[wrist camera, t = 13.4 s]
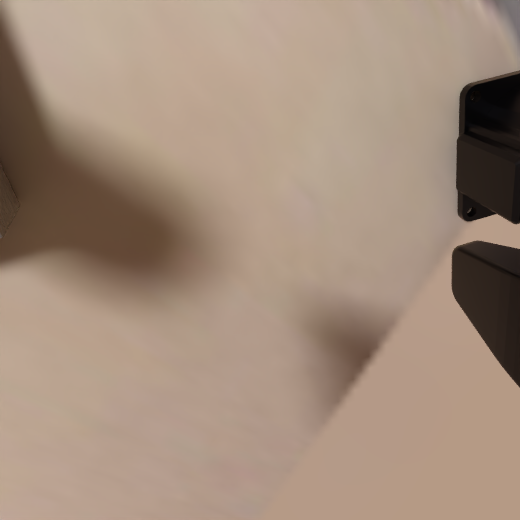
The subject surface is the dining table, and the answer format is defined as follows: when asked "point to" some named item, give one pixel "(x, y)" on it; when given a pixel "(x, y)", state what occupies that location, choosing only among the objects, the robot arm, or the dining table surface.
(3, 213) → the octagonal ring base plate
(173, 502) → the dining table surface
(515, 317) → the robot arm
